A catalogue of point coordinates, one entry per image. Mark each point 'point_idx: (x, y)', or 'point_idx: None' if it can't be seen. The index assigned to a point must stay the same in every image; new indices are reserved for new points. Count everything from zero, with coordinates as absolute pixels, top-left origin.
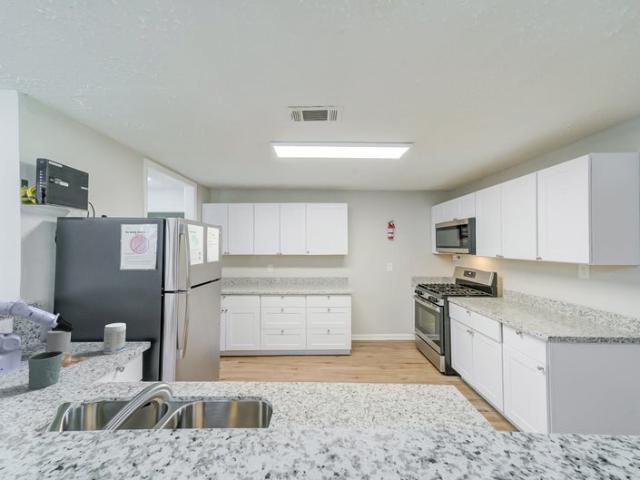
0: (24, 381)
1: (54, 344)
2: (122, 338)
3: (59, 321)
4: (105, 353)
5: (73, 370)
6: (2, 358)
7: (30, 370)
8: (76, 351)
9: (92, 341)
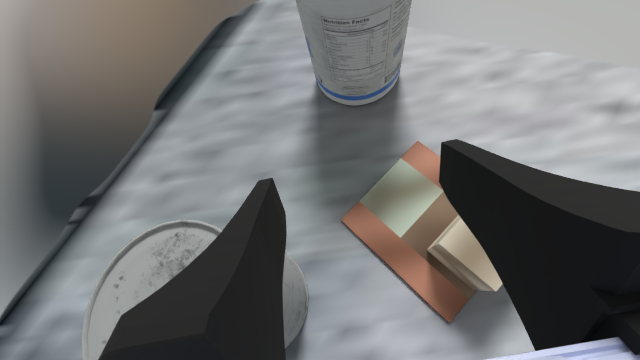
0: None
1: (286, 320)
2: None
3: (259, 321)
4: (386, 93)
5: (593, 183)
6: None
7: None
8: None
9: (120, 176)
